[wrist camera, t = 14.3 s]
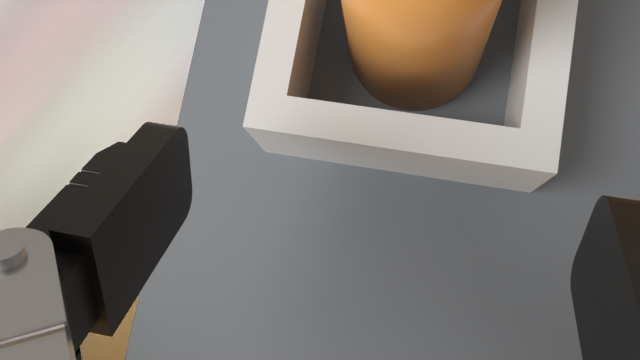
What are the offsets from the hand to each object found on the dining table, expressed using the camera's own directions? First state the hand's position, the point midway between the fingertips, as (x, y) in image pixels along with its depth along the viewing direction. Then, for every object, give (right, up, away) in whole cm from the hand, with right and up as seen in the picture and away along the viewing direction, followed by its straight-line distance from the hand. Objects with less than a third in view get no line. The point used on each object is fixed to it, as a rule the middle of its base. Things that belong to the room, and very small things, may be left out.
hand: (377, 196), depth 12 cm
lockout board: (+1, -2, +7) cm, 7 cm away
